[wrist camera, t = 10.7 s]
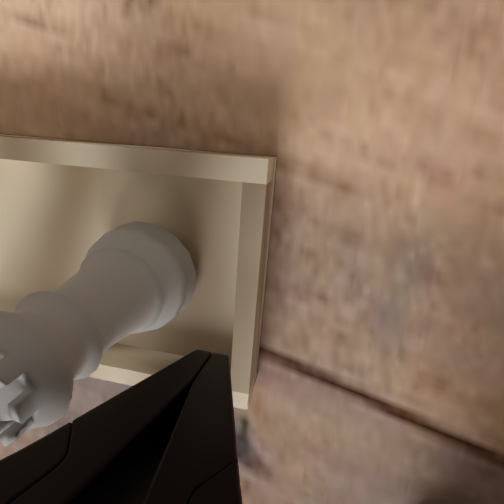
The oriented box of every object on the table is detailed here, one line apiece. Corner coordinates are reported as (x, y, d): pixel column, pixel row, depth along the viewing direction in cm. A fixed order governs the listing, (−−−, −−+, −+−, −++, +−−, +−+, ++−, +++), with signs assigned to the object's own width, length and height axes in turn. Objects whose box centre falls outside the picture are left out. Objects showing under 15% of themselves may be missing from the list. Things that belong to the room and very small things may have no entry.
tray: (277, 156, 13) (268, 158, 11) (257, 375, 16) (247, 410, 14) (-105, 125, 16) (-170, 122, 13) (-58, 315, 19) (-105, 336, 17)
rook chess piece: (112, 203, 14) (-132, 271, 6) (212, 239, 13) (75, 356, 6) (98, 294, 15) (-111, 435, 8) (187, 329, 15) (55, 511, 8)
